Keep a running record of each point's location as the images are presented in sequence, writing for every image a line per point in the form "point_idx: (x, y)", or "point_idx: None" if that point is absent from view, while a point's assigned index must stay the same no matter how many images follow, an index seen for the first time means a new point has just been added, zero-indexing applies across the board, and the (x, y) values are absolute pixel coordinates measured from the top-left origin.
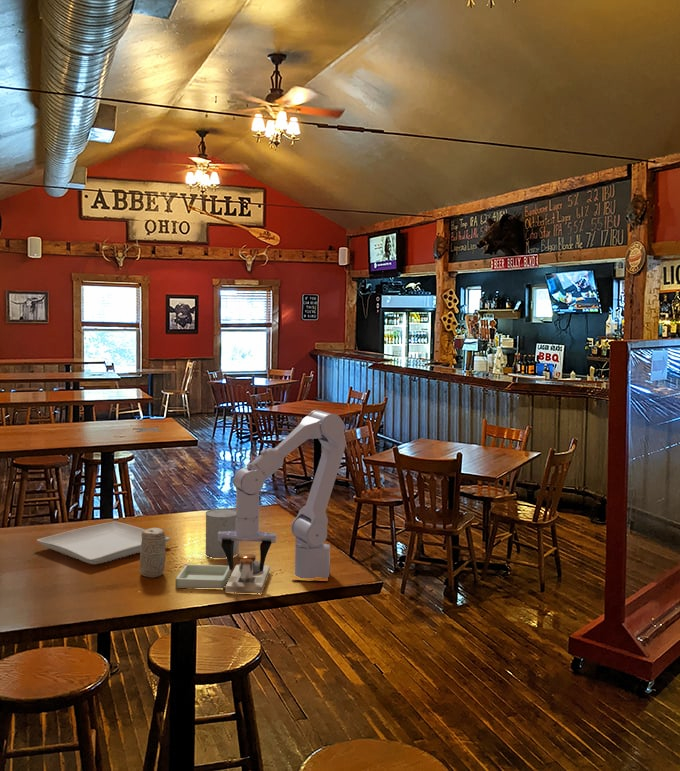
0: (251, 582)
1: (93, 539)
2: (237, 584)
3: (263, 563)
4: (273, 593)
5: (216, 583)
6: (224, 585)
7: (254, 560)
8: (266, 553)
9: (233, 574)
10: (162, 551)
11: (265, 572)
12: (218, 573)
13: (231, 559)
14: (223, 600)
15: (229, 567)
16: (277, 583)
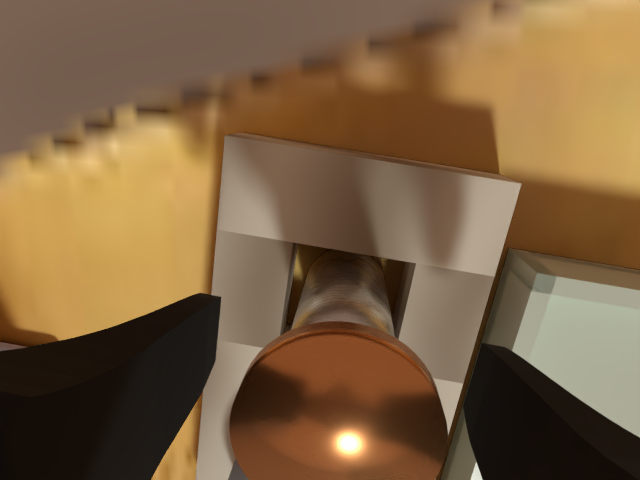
0: (309, 277)
1: None
2: (418, 214)
3: (153, 314)
4: (162, 162)
5: (580, 271)
6: (500, 300)
7: (249, 368)
8: (24, 349)
9: None
10: None
11: (212, 425)
12: None
13: (528, 405)
14: (524, 46)
15: (516, 354)
16: None
